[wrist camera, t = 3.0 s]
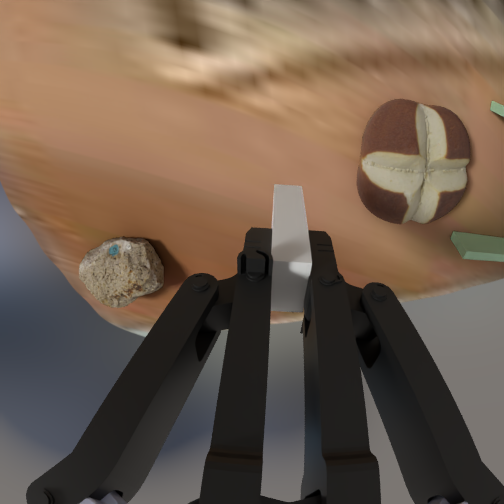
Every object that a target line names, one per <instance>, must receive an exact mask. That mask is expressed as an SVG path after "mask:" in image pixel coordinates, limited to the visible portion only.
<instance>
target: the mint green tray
mask: <svg viewBox="0 0 504 504" xmlns="http://www.w3.org/2000/svg"><path fill="white" fill-rule="evenodd" d="M490 110H491V111H493V112H495V113H497V114H499V115H501V116H503V117H504V106H503V105H501V104H499V103H497V102H494V101H492V103H491V108H490ZM450 239H451V241H452V242H453V244H454V245H455V247H456V248H457V250H458V252H459V253H460V255H461V256H462V258H463V259H472V260H486V261H499V262H504V238H501V237H494V236H487V235H479V234H471V233H463V232H455V231H453V233H452V236H451V238H450Z"/></svg>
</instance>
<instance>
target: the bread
mask: <svg viewBox="0 0 504 504" xmlns="http://www.w3.org/2000/svg"><path fill="white" fill-rule="evenodd" d="M469 161H470V142H469V137H468V134H467V132H466V129H465V127H464V125H463V123H462V122H461V120H460V119H459V118H458V116H457V115H456V114H454V113H453V112H452V111H451V110H449V109H446V108H444V107H440V106H435V105H425V104H420V103H418V102H414V101H411V100H405V99H395V100H391V101H388V102H386V103H385V104H383V105H382V106H380V107H379V108H378V109H377V110H376V111H375V112H374V114H373V115H372V117H371V118H370V120H369V121H368V123H367V125H366V128H365V131H364V134H363V137H362V146H361V155H360V164H359V167H358V173H357V189H358V193H359V196H360V198H361V200H362V202H363V204H364V205H365V207H366V208H367V209H368V210H369V211H370V212H371V213H373V214H374V215H375V216H377V217H379V218H381V219H382V220H385V221H388V222H391V223H396V224H403V223H405V222H407V221H408V220H413V221H416V222H418V223H421V224H427V223H430V222H432V221H434V220H436V219H438V218H441V217H442V216H444V215H446V214H447V213H448V212H450V211H451V210H452V209H453V208H454V207H455V206H456V205H457V204H458V202H459V201H460V199H461V198H462V196H463V194H464V192H465V189H466V185H467V181H468V179H467V174H466V165H467V164H468V163H469Z"/></svg>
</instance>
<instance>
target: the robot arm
mask: <svg viewBox="0 0 504 504" xmlns="http://www.w3.org/2000/svg"><path fill="white" fill-rule="evenodd" d="M237 271H238V273H237V274H236V275H234V276H233V277H231V278H228V279H224V280H218V281H217V279H216V278H215V277H214V276H212V275H210V274H206V273H198V274H194V275H192V276H189V277H188V278H187V279H186V280H185V281H184V283H183V284H182V285H181V287H180V288H179V290H178V291H177V293H176V294H175V295H174V297H173V298H172V300H171V301H170V303H169V304H168V305H167V307H166V308H165V310H164V311H163V313H162V314H161V316H160V317H159V318H158V320H157V321H156V323H155V324H154V326H153V327H152V329H151V330H150V332H149V333H148V335H147V336H146V338H145V339H144V341H143V342H142V344H141V345H140V347H139V348H138V349H137V351H136V353H135V354H134V356H133V357H132V359H131V360H130V362H129V363H128V365H127V366H126V368H125V369H124V371H123V372H122V374H121V375H120V377H119V378H118V380H117V381H116V383H115V384H114V386H113V388H112V389H111V391H110V392H109V394H108V395H107V397H106V399H105V400H104V402H103V403H102V405H101V406H100V408H99V410H98V411H97V413H96V414H95V416H94V418H93V419H92V421H91V422H90V424H89V426H88V427H87V429H86V431H85V432H84V434H83V435H82V437H81V439H80V440H79V442H78V444H77V445H76V447H75V449H74V450H73V452H72V453H71V454H69V455H68V456H67V457H66V458H64V459H63V460H62V461H60V462H59V463H58V464H56V465H55V466H54V467H52V468H51V469H50V470H49V471H47V472H46V473H44V474H43V475H42V476H40V477H39V478H38V479H36V480H35V481H34V482H32V483H31V485H30V486H29V487H28V490H27V493H26V499H27V504H127V503H128V502H129V501H130V500H131V499H132V498H133V497H134V495H135V494H136V493H137V492H138V490H139V489H140V487H141V486H142V484H143V483H144V481H145V479H146V477H147V475H148V473H149V472H150V470H151V468H152V466H153V464H154V462H155V460H156V458H157V456H158V454H159V452H160V450H161V448H162V446H163V445H164V443H165V441H166V439H167V437H168V435H169V433H170V431H171V429H172V427H173V425H174V423H175V421H176V419H177V417H178V416H179V413H180V411H181V410H182V408H183V406H184V404H185V402H186V400H187V398H188V396H189V394H190V392H191V390H192V388H193V386H194V384H195V382H196V380H197V378H198V376H199V374H200V372H201V370H202V369H203V367H204V364H205V363H206V360H207V359H208V357H209V355H210V353H211V351H212V349H213V347H214V345H215V343H216V341H217V339H218V337H219V335H220V333H221V330H225V329H229V330H228V336H227V343H226V349H225V355H224V361H223V368H222V374H221V382H220V387H219V393H218V400H217V407H216V413H215V420H214V426H213V433H212V440H211V446H210V450H209V452H208V454H207V457H206V461H205V466H204V472H203V479H202V486H201V493H200V498H199V499H196V500H194V501H192V502H190V503H188V504H381V493H380V478H379V477H380V475H379V465H378V461H377V459H376V457H375V456H374V455H373V454H372V453H371V451H370V448H369V437H368V427H367V417H366V408H365V401H364V392H363V385H362V377H361V370H362V372H363V375H364V377H365V379H366V382H367V384H368V387H369V389H370V391H371V394H372V396H373V399H374V401H375V404H376V406H377V409H378V411H379V414H380V416H381V419H382V422H383V424H384V426H385V429H386V432H387V434H388V436H389V440H390V442H391V445H392V448H393V450H394V453H395V455H396V459H397V461H398V464H399V467H400V470H401V473H402V475H403V478H404V481H405V484H406V487H407V489H408V491H409V494H410V496H411V498H412V500H413V501H414V503H415V504H504V486H503V485H502V484H501V482H500V481H499V480H498V479H497V478H496V477H495V476H494V475H493V473H492V472H491V471H490V470H489V469H488V468H487V467H486V466H485V464H484V463H483V462H482V461H481V458H480V456H479V453H478V451H477V449H476V446H475V444H474V442H473V439H472V437H471V435H470V432H469V430H468V428H467V426H466V424H465V421H464V419H463V417H462V415H461V413H460V411H459V409H458V407H457V405H456V402H455V401H454V399H453V397H452V394H451V392H450V390H449V388H448V387H447V385H446V383H445V381H444V379H443V377H442V375H441V373H440V371H439V370H438V368H437V366H436V364H435V362H434V360H433V358H432V356H431V355H430V353H429V351H428V349H427V348H426V346H425V344H424V342H423V341H422V339H421V337H420V336H419V334H418V332H417V330H416V329H415V327H414V325H413V324H412V322H411V320H410V318H409V317H408V315H407V314H406V312H405V310H404V309H403V307H402V306H401V304H400V302H399V301H398V299H397V297H396V296H395V294H394V293H393V291H392V290H391V289H390V288H389V287H388V286H386V285H384V284H381V283H375V282H372V283H369V284H367V285H366V286H365V287H364V289H362V288H358V287H355V286H352V285H350V284H348V283H346V282H345V280H344V278H343V276H342V275H341V274H340V273H339V272H338V269H337V264H336V259H335V254H334V250H333V246H332V241H331V238H330V236H329V235H328V234H327V233H326V232H324V231H310V230H308V226H307V219H306V211H305V204H304V197H303V191H302V186H293V185H279V184H274V199H273V215H272V229H269V228H252V227H251V229H250V230H249V231H248V232H247V233H246V237H245V243H244V249H243V251H242V252H240V253H239V255H238V257H237ZM303 308H304V318H303V323H302V327H301V332H300V333H303V346H304V388H305V455H304V475H303V480H302V485H301V500H299V501H295V502H284V501H280V500H276V499H272V498H268V497H265V496H261V495H260V493H261V480H262V464H263V440H264V425H265V409H266V392H267V374H268V355H269V335H270V334H269V333H270V313H271V311H286V312H303ZM360 367H361V370H360Z"/></svg>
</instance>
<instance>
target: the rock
mask: <svg viewBox="0 0 504 504" xmlns="http://www.w3.org/2000/svg"><path fill="white" fill-rule="evenodd" d="M79 278H80V280H81V281H82V282H84V283H85V285H86V287H87V289H88V290H90V291H91V294H92V295H94V296H95V298H96V299H97V300H99V301H100V303H101V304H104V305H106V306H109V307H118V308H120V307H125V306H127V305H128V304H129V303H132V302H133V301H135V300H136V299H137V298H138V297H139V296H142V295H146V294H150V293H153V292H155V291H157V290H159V289H160V288H162V287H163V284H164V267H163V265H162V264H161V260H160V259H159V257H158V255H157V254H156V253H155V250H154V248H153V247H152V246H151V244H150V243H149V242H148V241H146V240H145V239H144V238H126V237H124V236H123V237H120V238H113V239H110V240H107V241H105V242H104V243H103V244H101V245H100V246H99V247H97V248H95V249H92V250H90V251H89V252H88V253H87V254H86V255H85V257H84V258H83V260H82V262H81V263H80V266H79Z"/></svg>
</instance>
